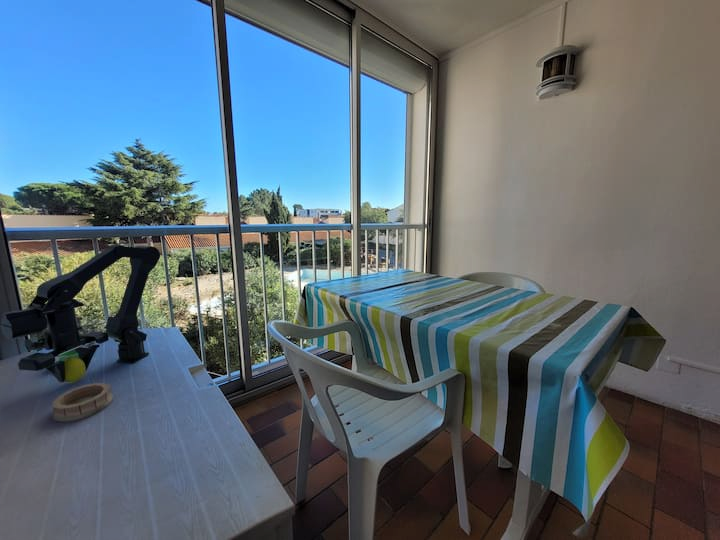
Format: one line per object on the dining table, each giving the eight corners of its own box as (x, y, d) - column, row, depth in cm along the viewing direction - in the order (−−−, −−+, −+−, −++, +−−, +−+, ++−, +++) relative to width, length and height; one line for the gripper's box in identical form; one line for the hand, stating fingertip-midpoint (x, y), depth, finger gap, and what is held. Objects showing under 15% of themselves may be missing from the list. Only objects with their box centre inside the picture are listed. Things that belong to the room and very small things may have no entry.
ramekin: (45, 371, 89) (42, 358, 88) (67, 357, 97) (64, 346, 97) (80, 368, 91) (77, 355, 90) (98, 355, 100) (96, 343, 99)
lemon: (91, 380, 84) (87, 355, 83) (66, 390, 79) (61, 364, 78) (82, 375, 87) (77, 351, 85) (57, 385, 82) (51, 359, 80)
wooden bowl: (88, 391, 79) (86, 380, 78) (124, 394, 77) (122, 383, 77) (38, 420, 68) (35, 407, 67) (80, 424, 66) (77, 411, 66)
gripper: (74, 313, 90) (83, 358, 93) (-7, 338, 71) (7, 394, 74) (106, 314, 88) (114, 360, 91) (31, 340, 70) (44, 397, 73)
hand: (73, 376), depth 83 cm, fingers closed on lemon, 5 cm apart
